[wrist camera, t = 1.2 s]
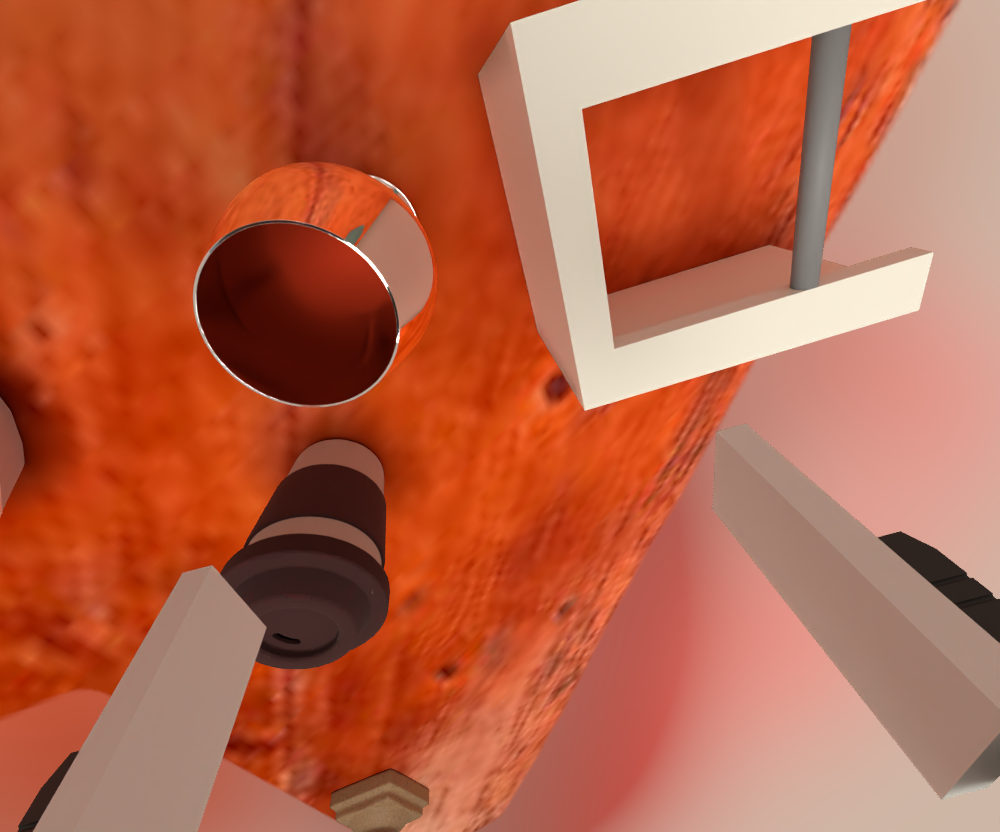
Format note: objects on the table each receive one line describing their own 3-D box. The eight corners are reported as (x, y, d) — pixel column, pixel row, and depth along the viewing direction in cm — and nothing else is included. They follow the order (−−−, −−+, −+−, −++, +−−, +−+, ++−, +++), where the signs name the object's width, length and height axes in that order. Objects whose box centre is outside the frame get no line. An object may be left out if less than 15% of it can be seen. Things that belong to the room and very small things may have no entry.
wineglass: (434, 162, 27) (440, 178, 12) (434, 296, 31) (439, 436, 16) (292, 152, 26) (91, 153, 10) (312, 292, 30) (189, 440, 15)
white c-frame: (477, 74, 25) (510, 22, 15) (786, -25, 25) (1036, -148, 14) (537, 331, 34) (584, 410, 23) (768, 260, 33) (918, 309, 23)
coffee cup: (370, 406, 35) (336, 554, 22) (417, 495, 40) (412, 656, 27) (253, 445, 35) (152, 612, 22) (315, 528, 40) (262, 702, 28)
